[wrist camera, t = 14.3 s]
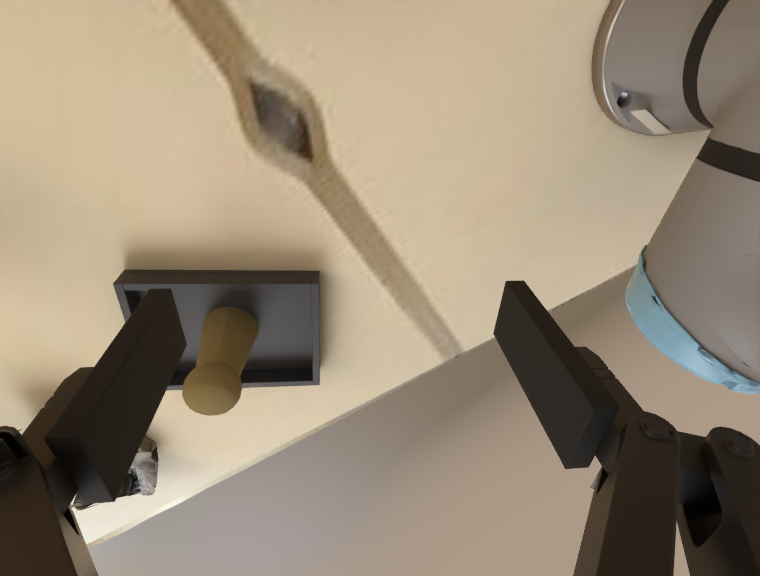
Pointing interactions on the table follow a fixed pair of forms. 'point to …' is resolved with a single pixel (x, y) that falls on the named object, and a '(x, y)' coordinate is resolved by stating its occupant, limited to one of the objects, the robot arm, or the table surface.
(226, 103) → the table surface
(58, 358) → the table surface
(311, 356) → the dark grey shallow tray
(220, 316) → the tan pawn
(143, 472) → the crumpled newspaper
